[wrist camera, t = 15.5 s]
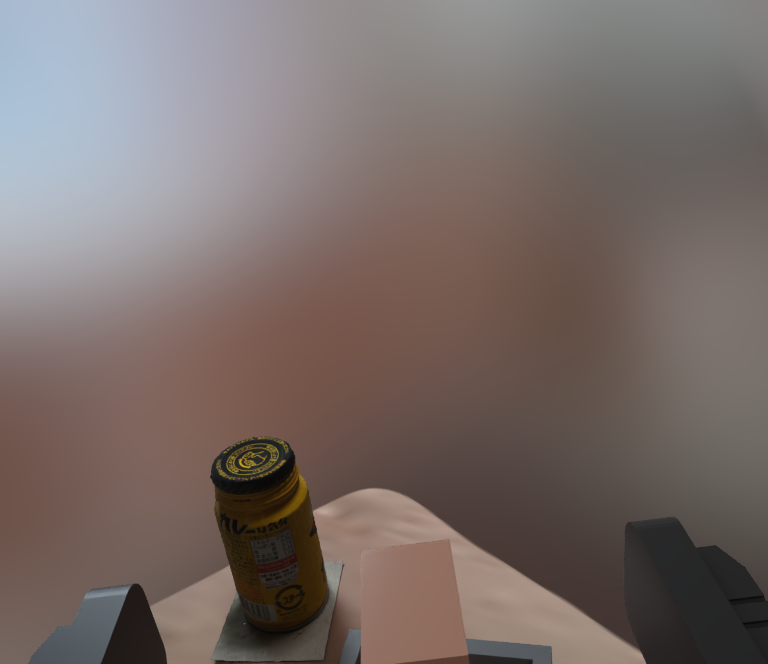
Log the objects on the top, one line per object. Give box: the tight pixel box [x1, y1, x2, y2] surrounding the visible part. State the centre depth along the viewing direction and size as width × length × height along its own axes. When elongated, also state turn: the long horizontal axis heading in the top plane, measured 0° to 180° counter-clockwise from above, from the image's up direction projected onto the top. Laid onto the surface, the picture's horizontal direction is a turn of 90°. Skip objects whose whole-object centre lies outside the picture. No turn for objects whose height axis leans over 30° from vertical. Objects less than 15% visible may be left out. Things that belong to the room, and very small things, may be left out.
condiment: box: [210, 437, 343, 662], centre depth 46 cm, size 7×8×12 cm
